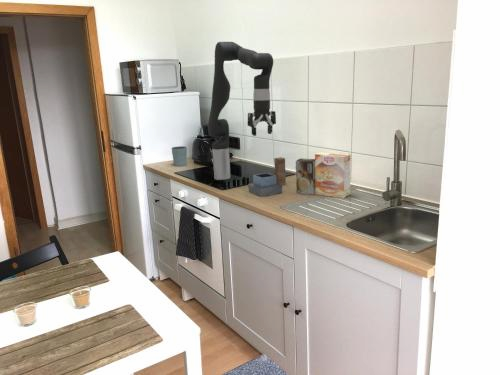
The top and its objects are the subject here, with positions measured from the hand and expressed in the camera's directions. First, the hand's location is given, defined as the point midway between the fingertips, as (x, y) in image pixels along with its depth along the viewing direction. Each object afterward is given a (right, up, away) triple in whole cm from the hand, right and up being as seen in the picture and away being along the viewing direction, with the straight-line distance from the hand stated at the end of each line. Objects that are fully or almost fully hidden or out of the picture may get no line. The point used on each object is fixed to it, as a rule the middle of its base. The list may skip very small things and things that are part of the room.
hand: (262, 134), depth 198 cm
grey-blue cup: (-52, -10, +88) cm, 102 cm away
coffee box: (+22, -27, +8) cm, 36 cm away
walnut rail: (+10, -23, +25) cm, 36 cm away
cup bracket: (+2, -27, +12) cm, 29 cm away
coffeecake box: (+33, -28, +3) cm, 44 cm away
